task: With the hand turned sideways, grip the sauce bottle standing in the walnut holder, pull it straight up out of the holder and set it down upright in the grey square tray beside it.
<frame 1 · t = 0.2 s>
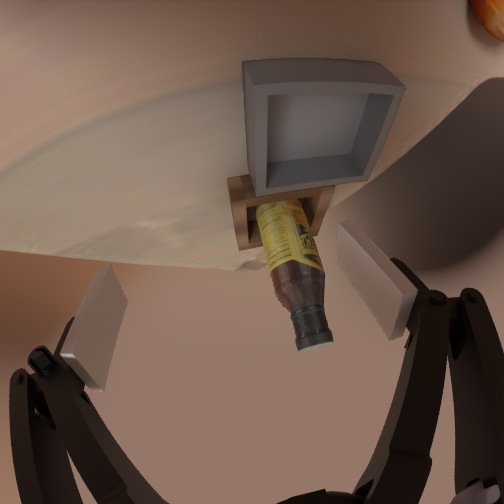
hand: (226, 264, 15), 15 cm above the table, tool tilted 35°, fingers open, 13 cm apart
grey square tray: (309, 113, 24), on the table
walnut holder: (275, 199, 37), on the table
sauce bottle: (274, 198, 37), resting in walnut holder
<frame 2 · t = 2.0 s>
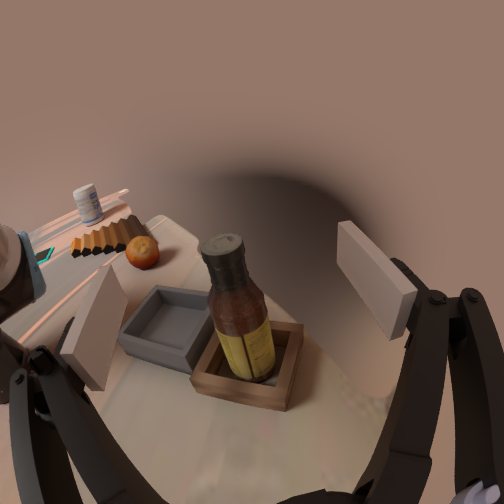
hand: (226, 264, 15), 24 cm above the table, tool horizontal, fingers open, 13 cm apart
grey square tray: (176, 334, 42), on the table
fruit: (146, 265, 63), on the table
brown ridged flat piece: (108, 248, 75), on the table
walnut holder: (252, 367, 36), on the table
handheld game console: (36, 261, 75), on the table
sauce bottle: (252, 367, 36), resting in walnut holder
supplement tub: (94, 222, 96), on the table
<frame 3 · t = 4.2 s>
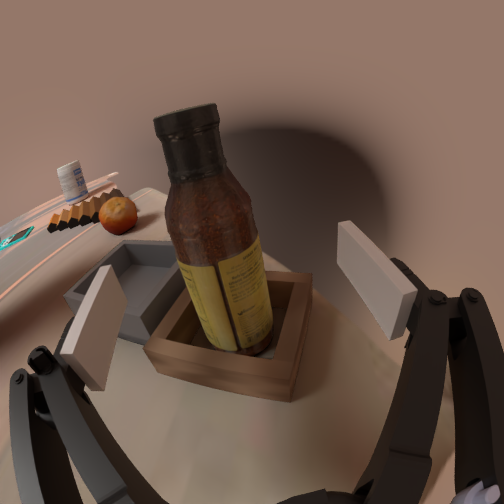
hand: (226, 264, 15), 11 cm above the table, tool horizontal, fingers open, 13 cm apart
grey square tray: (141, 298, 32), on the table
fruit: (122, 231, 52), on the table
brown ridged flat piece: (86, 221, 64), on the table
walnut holder: (239, 336, 25), on the table
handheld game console: (14, 241, 65), on the table
sauce bottle: (240, 338, 25), resting in walnut holder
supplement tub: (78, 201, 86), on the table
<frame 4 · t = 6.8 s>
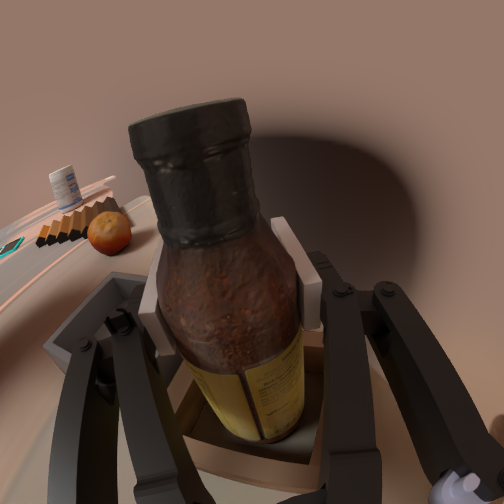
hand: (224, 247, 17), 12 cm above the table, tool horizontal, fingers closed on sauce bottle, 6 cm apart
grey square tray: (135, 349, 25), on the table
fruit: (115, 250, 45), on the table
brown ridged flat piece: (77, 235, 57), on the table
walnut holder: (260, 412, 18), on the table
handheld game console: (4, 253, 58), on the table
sauce bottle: (260, 413, 18), resting in walnut holder, touching gripper
supplement tub: (72, 208, 79), on the table
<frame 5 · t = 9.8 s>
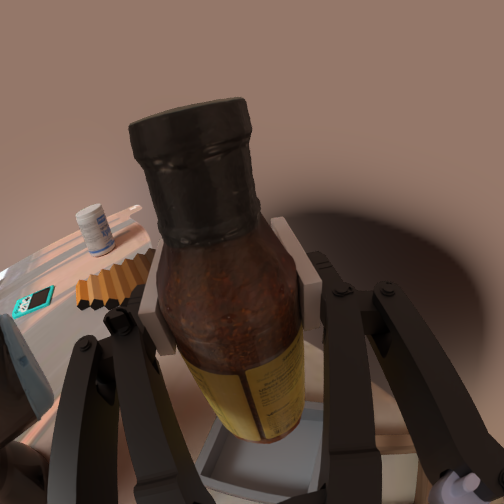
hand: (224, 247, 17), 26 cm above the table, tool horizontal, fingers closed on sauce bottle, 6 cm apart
grey square tray: (269, 456, 26), on the table
brown ridged flat piece: (126, 298, 58), on the table
walnut holder: (381, 487, 19), on the table
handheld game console: (33, 304, 59), on the table
sauce bottle: (260, 413, 18), point 14 cm above the table, touching gripper
supplement tub: (103, 250, 80), on the table
when the fingers open (14 cm above the table, at t = 12.9 s): sauce bottle drops 1 cm, resting on grey square tray.
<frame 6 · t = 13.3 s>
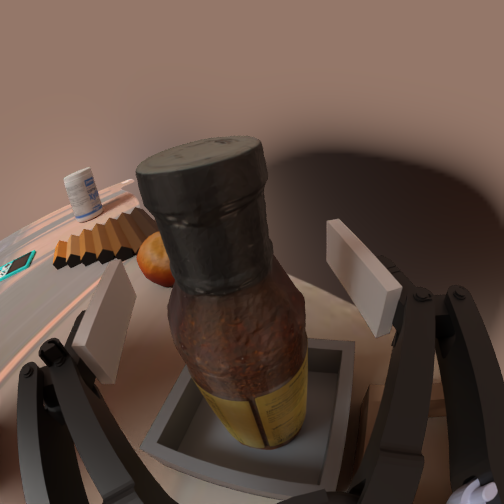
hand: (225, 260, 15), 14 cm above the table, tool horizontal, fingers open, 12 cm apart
grey square tray: (262, 423, 19), on the table
fruit: (171, 279, 40), on the table
brown ridged flat piece: (106, 255, 51), on the table
walnut holder: (423, 464, 13), on the table
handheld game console: (13, 270, 52), on the table
sauce bottle: (263, 420, 19), point 1 cm above the table, touching grey square tray
supplement tub: (90, 217, 74), on the table
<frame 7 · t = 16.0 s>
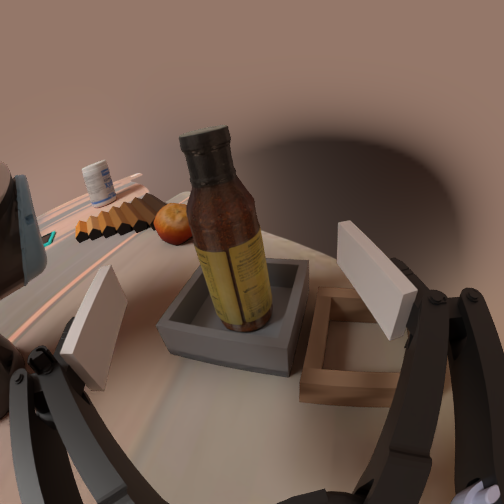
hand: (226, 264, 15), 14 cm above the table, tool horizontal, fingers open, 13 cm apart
grey square tray: (244, 321, 31), on the table
fruit: (180, 240, 51), on the table
brown ridged flat piece: (123, 230, 62), on the table
walnut holder: (368, 354, 24), on the table
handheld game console: (34, 248, 63), on the table
sauce bottle: (244, 316, 30), point 1 cm above the table, touching grey square tray
supplement tub: (105, 203, 85), on the table
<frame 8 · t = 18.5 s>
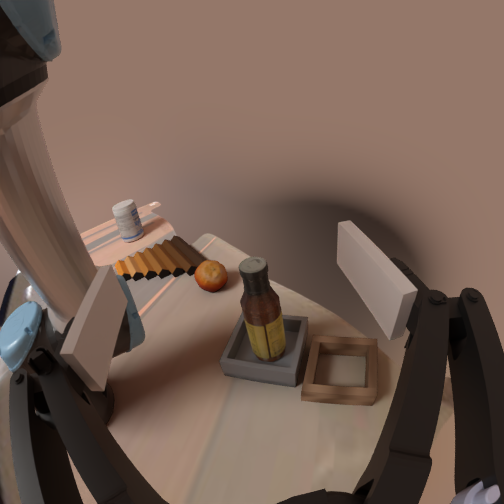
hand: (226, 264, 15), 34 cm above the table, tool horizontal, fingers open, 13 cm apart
grey square tray: (268, 353, 49), on the table
fruit: (213, 287, 70), on the table
brown ridged flat piece: (160, 271, 80), on the table
walnut holder: (340, 374, 43), on the table
sauce bottle: (268, 351, 49), point 1 cm above the table, touching grey square tray
supplement tub: (133, 237, 104), on the table
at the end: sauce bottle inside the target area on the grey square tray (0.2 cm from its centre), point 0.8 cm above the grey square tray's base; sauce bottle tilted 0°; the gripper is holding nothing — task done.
